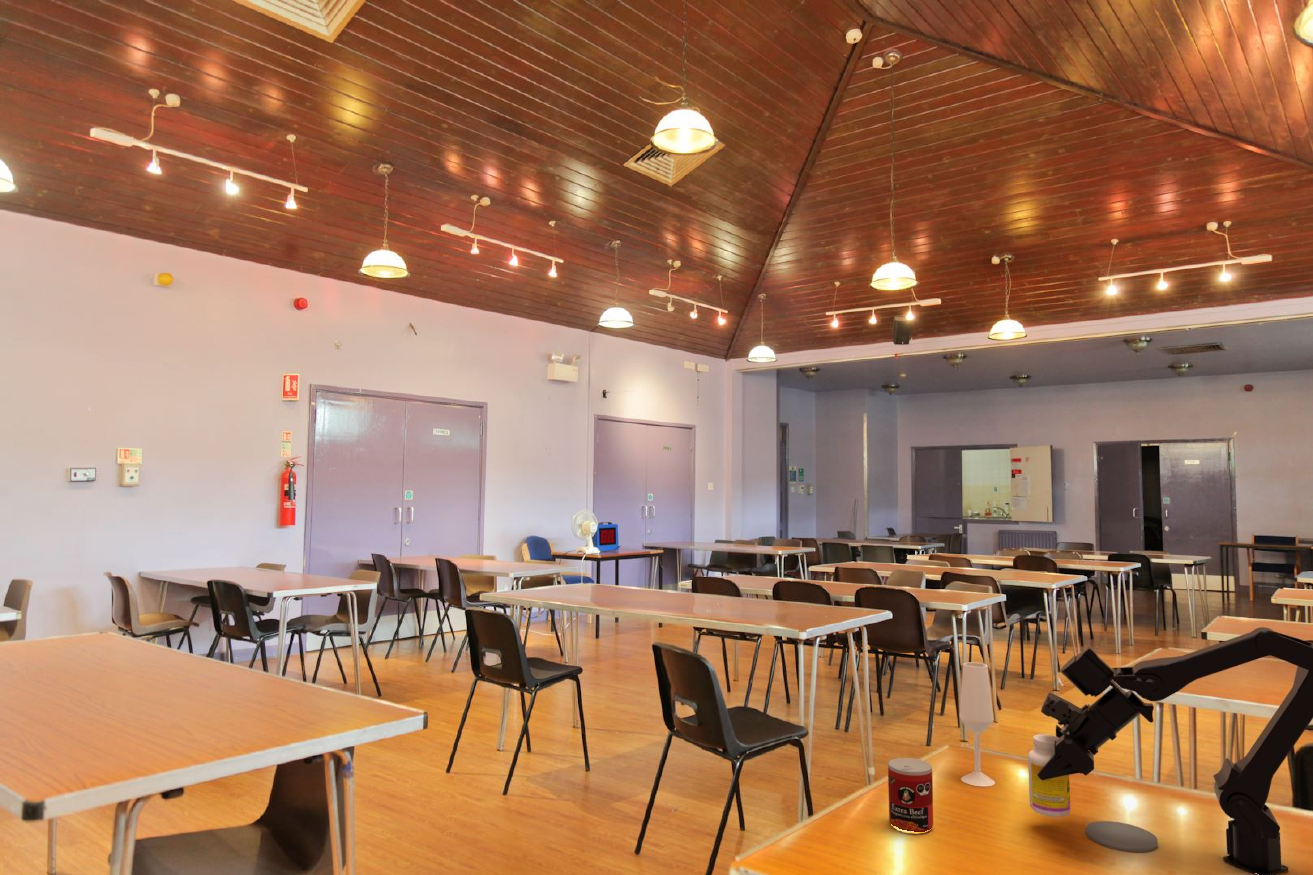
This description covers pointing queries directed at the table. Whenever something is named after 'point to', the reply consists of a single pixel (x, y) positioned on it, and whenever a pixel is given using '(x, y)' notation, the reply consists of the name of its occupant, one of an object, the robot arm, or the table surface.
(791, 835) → the table surface
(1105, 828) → the slate coaster
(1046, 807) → the supplement bottle
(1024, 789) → the table surface
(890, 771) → the canned food
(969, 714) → the champagne flute
